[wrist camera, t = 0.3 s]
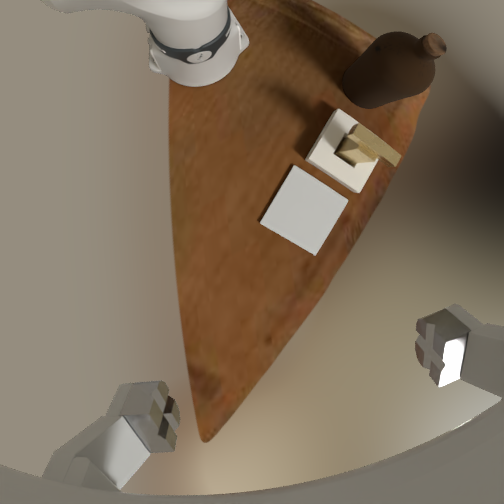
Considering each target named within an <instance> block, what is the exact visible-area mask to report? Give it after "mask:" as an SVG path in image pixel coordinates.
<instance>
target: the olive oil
mask: <svg viewBox="0 0 504 504" xmlns="http://www.w3.org/2000/svg"><path fill="white" fill-rule="evenodd" d="M445 52H446V44H445V42H444V41H443V39H442V38H441V37H440V36H439V35H437V34H435V33H429V34H428V35H426V36H423V37H422V38H420V39H418V38H416V37H415V36H413V35H411V34H408V33H404V32H390V33H386V34H383V35H381V36H380V37H378V38H377V39H376V40H375V41H374V42H373V43H372V44H371V45H370V46H369V47H368V49H367V50H366V51H365V52H364V53H363V54H362V55H361V56H360V57H359V58H358V59H357V60H356V61H355V62H354V63H353V64H352V65H351V66H350V67H349V68H348V69H347V70H346V72H345V73H344V76H343V80H342V83H343V89H344V91H345V93H346V95H347V97H348V98H349V99H350V100H351V101H352V102H353V103H354V104H356V105H357V106H359V107H362V108H366V109H372V108H376V107H379V106H382V105H384V104H387V103H390V102H394V101H397V100H400V99H403V98H407V97H411V96H414V95H417V94H420V93H422V92H423V91H425V90H426V89H427V88H428V87H429V85H430V84H431V83H432V81H433V78H434V75H435V63H434V59H436V58H439V57H440V56H441V55H443V54H445Z"/></svg>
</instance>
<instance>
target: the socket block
mask: <svg viewBox="0 0 504 504" xmlns="http://www.w3.org/2000/svg"><path fill="white" fill-rule="evenodd" d="M358 123H359V122H357V121H356V120H354V119H353V118H352V117H350V116H349V115H347V114H346V113H344V112H343V111H342V110H340V109H337V110H335V111H334V112H333V113H332V115H331V117H330V118H329V120H328V122H327V123H326V125H325V127H324V128H323V130H322V132H321V134H320V135H319V137H318V139H317V140H316V142H315V144H314V145H313V147H312V149H311V150H310V152H309V154H308V155H307V157H306V159H305V160H306V161H307V162H309V163H311V164H312V165H314V166H315V167H317V168H318V169H320V170H321V171H323V172H324V173H326V174H327V175H329V176H330V177H332V178H333V179H335V180H336V181H338V182H339V183H341V184H342V185H344V186H345V187H347V188H348V189H350V190H351V191H352V192H356V193H360V191H361V190H362V188H363V186H364V184H365V182H366V181H367V179H368V177H369V175H370V174H371V172H372V170H373V168H374V166H375V164H376V163H377V161H378V159H376V160H375V162H366V163H354V164H350V165H349V164H347V163H346V162H344V161H343V160H342V159H340V158H339V157H337V156H336V155H334V154H333V153H334V151H335V150H336V148H337V146H338V145H339V143H340V141H341V139H342V138H343V137H344V138H346V137H347V135H348V133H349V131H350V130H351V128H352V126H353V125H355V124H358ZM382 141H383V140H382Z"/></svg>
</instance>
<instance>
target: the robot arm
mask: <svg viewBox="0 0 504 504" xmlns="http://www.w3.org/2000/svg"><path fill="white" fill-rule="evenodd" d="M41 1H42V2H43V3H44V4H45V5H47V6H49V7H50V8H52V9H54V10H56V11H59V12H64V13H73V12H78V11H85V10H94V9H95V10H96V9H102V10H114V11H120V12H125V13H129V14H132V15H135V16H138V17H140V18H142V19H143V20H144V22H145V23H146V30H147V32H148V33H150V38H148V44H149V68H150V70H151V71H153V72H155V73H160V74H164V75H166V76H168V77H169V78H170V79H172V80H173V81H175V82H177V83H179V84H181V85H185V86H193V87H197V86H205V85H209V84H212V83H214V82H216V81H218V80H220V79H222V78H223V77H224V76H226V75H227V74H228V73H229V72H230V71H231V69H232V68H233V66H234V65H235V63H236V60H237V58H238V56H239V54H240V53H241V52H242V51H243V50H244V49H246V48H247V46H248V45H249V39H248V37H247V35H246V34H245V32H244V31H243V29H242V27H241V26H240V24H239V23H238V21H237V19H236V18H235V16H234V15H233V13H232V12H231V10H230V9H229V7H228V6H227V0H41ZM241 37H242V38H241ZM154 60H155V62H154ZM416 331H417V332H418V333H419V334H420V335H419V336H418V338H417V340H416V341H415V350H416V355H417V358H418V360H419V362H420V364H421V365H422V367H424V368H427V369H430V373H429V376H430V377H431V378H432V380H433V381H434V382H435V383H436V385H437V386H438V387H441V386H443V385H446V384H448V383H450V382H452V381H454V380H456V379H459V378H460V379H461V380H463V381H465V382H468V383H470V384H472V385H474V386H477V387H479V388H481V389H483V390H486V391H488V392H490V393H493V394H495V395H497V396H500V397H502V399H501V401H500V402H498V403H497V404H495V405H494V406H492V407H490V408H489V409H487V410H486V411H484V412H482V413H481V414H479V415H477V416H475V417H474V418H472V419H470V420H469V421H467V422H465V423H463V424H462V425H459V426H458V427H456V428H454V429H452V430H450V431H448V432H446V433H444V434H442V435H440V436H438V437H436V438H434V439H432V440H430V441H428V442H425V443H423V444H421V445H419V446H416V447H414V448H412V449H409V450H407V451H405V452H402V453H400V454H397V455H395V456H392V457H389V458H387V459H384V460H381V461H379V462H376V463H373V464H370V465H367V466H364V467H361V468H358V469H354V470H351V471H348V472H344V473H341V474H337V475H334V476H330V477H326V478H322V479H318V480H313V481H309V482H304V483H299V484H294V485H289V486H283V487H278V488H272V489H265V490H257V491H249V492H241V493H229V494H215V495H189V496H188V495H187V496H185V495H183V496H182V495H180V496H178V495H175V496H174V495H147V494H133V493H123V492H122V491H121V490H120V489H121V488H122V487H123V486H124V485H125V483H126V482H127V481H128V480H129V479H130V478H131V477H132V475H133V474H134V473H135V472H136V471H137V470H138V468H139V467H140V466H141V465H142V464H143V463H144V461H145V460H146V459H147V458H148V457H149V455H150V453H158V452H174V451H175V445H176V440H177V435H176V433H175V432H174V431H175V430H176V429H177V428H178V427H179V424H180V412H179V408H178V405H177V403H176V401H175V399H173V398H171V397H170V396H168V393H169V388H168V387H167V385H166V383H165V382H164V381H151V382H140V383H128V384H121V385H120V386H119V388H118V389H117V392H116V394H115V396H114V398H113V400H112V402H111V405H110V407H109V409H108V411H107V413H106V416H101V417H100V418H99V419H97V420H96V421H95V422H94V423H92V424H91V425H90V426H88V427H87V428H86V429H84V430H83V431H82V432H80V433H79V434H78V435H76V436H75V437H74V438H72V439H71V440H70V441H68V442H67V443H66V444H64V445H63V446H61V447H60V448H59V449H57V450H56V451H55V452H54V453H53V455H52V457H51V459H50V461H49V463H48V465H47V467H46V469H45V471H44V474H43V475H42V478H41V477H38V476H34V475H31V474H27V473H24V472H21V471H18V470H15V469H12V468H8V467H6V466H3V465H0V504H504V326H499V325H493V324H488V323H487V324H485V325H483V324H482V323H481V322H480V321H479V320H477V319H476V318H475V317H474V316H472V315H471V314H470V313H468V312H467V311H466V310H465V309H463V308H462V307H461V306H460V305H458V304H453V305H450V306H449V307H446V308H444V309H442V310H440V311H437V312H435V313H432V314H430V315H427V316H425V317H422V318H420V319H418V321H417V324H416Z"/></svg>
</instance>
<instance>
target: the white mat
mask: <svg viewBox="0 0 504 504" xmlns="http://www.w3.org/2000/svg"><path fill="white" fill-rule="evenodd" d="M348 201H349V200H347V199H346V198H344V197H343V196H341V195H340V194H338V193H337V192H335V191H334V190H332V189H331V188H329V187H328V186H326V185H325V184H323V183H322V182H320V181H319V180H317V179H316V178H314V177H312V176H311V175H309V174H308V173H306V172H305V171H303V170H301V169H300V168H298V167H297V166H295V165H294V166H293V167H292V169H291V171H290V172H289V174H288V176H287V177H286V179H285V181H284V183H283V184H282V186H281V188H280V189H279V191H278V193H277V194H276V196H275V198H274V199H273V201H272V203H271V204H270V206H269V208H268V209H267V211H266V213H265V215H264V216H263V218H262V220H261V221H260V224H262V225H264V226H266V227H267V228H269V229H271V230H273V231H274V232H276V233H278V234H280V235H281V236H283V237H285V238H286V239H288V240H290V241H292V242H293V243H295V244H297V245H298V246H300V247H302V248H303V249H305V250H307V251H309V252H310V253H312V254H314V255H316V254H317V252H318V251H319V249H320V247H321V246H322V244H323V243H324V241H325V239H326V238H327V236H328V234H329V233H330V231H331V229H332V228H333V226H334V224H335V223H336V221H337V219H338V218H339V216H340V214H341V213H342V211H343V209H344V207H345V206H346V204H347V202H348Z"/></svg>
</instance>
